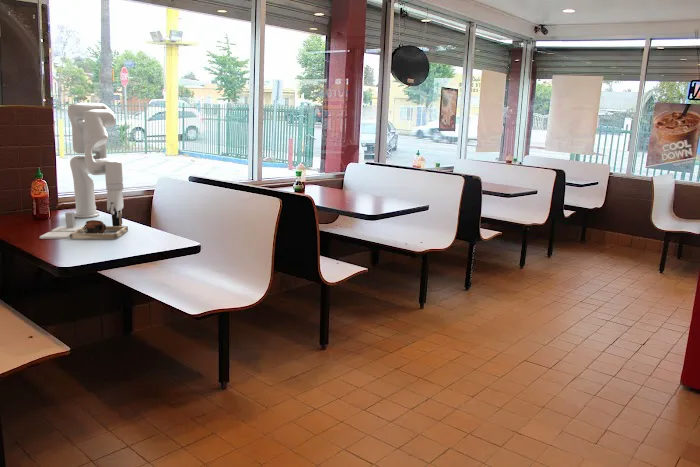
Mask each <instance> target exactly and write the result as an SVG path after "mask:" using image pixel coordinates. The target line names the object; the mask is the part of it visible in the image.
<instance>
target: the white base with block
mask: <svg viewBox="0 0 700 467" xmlns="http://www.w3.org/2000/svg"><path fill="white" fill-rule="evenodd" d="M74 213H75V212H74V211H68V212H66V213H64V214H65V224H66V225H64V226H63V225H61V226H57V227H56V228H53V229H51V230H50V231H48V232H46V233H44V234H42V235H40V236H39V240H40V239H42V240H44V239H46V240H48V239H49V240H50V239H51V240H56V239H57V240H58V239H59V240H61V239H62V240H65V239H67V240H68V239H70V234H71V233H73V232H75V231H76V230H78V229H80V228H82V227H83V226H76V219H75V218H76V217H75V215H74Z"/></svg>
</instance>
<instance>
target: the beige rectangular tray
mask: <svg viewBox="0 0 700 467" xmlns="http://www.w3.org/2000/svg"><path fill="white" fill-rule="evenodd" d="M115 213H116V212H115ZM118 217H119V222H120V225H119V226H113V225H112V226H111V225H106V230H105V231H104V232H115V233H103V234H98V233H86V232H87V229H85V227H86V226H85V225H84V226H85V227H84V226H81V227H82V228H80V229H78V230H76V231H75V232H73V233H71V234H70V238H69V239H76V240H77V239H79V240H80V239H81V240H82V239H83V240H84V239H86V240H87V239H88V240H90V239H92V240H93V239H102V240H108V239H109V240H111V239H112V240H115V239H118V238H119V237H121V236H122V235H124V233H126V232H128V231H129V227H128V226H125V225H122V224H123V221H122V222H121V212H118Z"/></svg>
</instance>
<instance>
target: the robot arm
mask: <svg viewBox="0 0 700 467" xmlns="http://www.w3.org/2000/svg"><path fill="white" fill-rule="evenodd" d="M67 115H68V118H69V122H70V125H71V133H72V134H71V135H72V136H71V138H72V149H73V151H74V152H75V153H77V154H83V155H77V156H73V157H72V158H71V159H70V161H69V166H70V169H71V170H70V171H71V175H72V179H73V181H72V182H73V188H74V200H75V201H74V202H75V203H74V204H75V211H76V212H74V215H75V218H78V219H79V218H80V219H81V218H83V219H84V218H85V219H86V218H95V217H98V216H100V212H98V211H96V210H97V206H96V198H95V183H94V180H93V179H92V178H91V177H90V175H92V176H103V175H104V176H105V177H104V178H105V187H106V192H107V193H106V210H107V212H110V214H111V224H112V226H119V225H120V222H119V217H118V212H121V222H122V223H123V216H122V215H123V213H122V210H123V209H124V207H125V206H124V196H123V191H124V181H123V180H124V179H123V166H122V161H120V160H117V158H107V144H106V143H107V142H108V141H109V135H108V132H107V129H106V128H113V127H114V126H115V125H116V115H115V113H114V111H112V109H111V108H109V107H108V106H107V105H106V104H104V103H102V102H101V103H98V102H74V103H71V104H69V106H68V108H67ZM115 212H116V213H115Z"/></svg>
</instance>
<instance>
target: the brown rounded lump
mask: <svg viewBox="0 0 700 467" xmlns="http://www.w3.org/2000/svg"><path fill="white" fill-rule="evenodd" d="M85 226H86V227H85ZM106 226H107V225H106V224H105V223H104V222H103V221H102V220H97V219H93V220H87V221H86V222H85V224H84V226H83V227H85V229H87V231H85V233H98V234H105V232H106V231H105V230H106Z"/></svg>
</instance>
